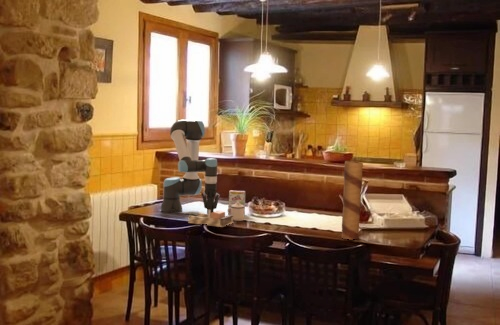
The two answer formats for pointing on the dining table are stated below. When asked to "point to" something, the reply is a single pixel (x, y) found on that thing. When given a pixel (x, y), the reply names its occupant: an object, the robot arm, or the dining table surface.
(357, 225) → the wafer roll
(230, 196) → the candy bar box
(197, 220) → the chute
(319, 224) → the dining table surface
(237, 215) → the teacup with lid
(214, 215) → the block
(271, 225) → the dining table surface
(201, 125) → the robot arm
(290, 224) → the dining table surface
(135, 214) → the dining table surface
